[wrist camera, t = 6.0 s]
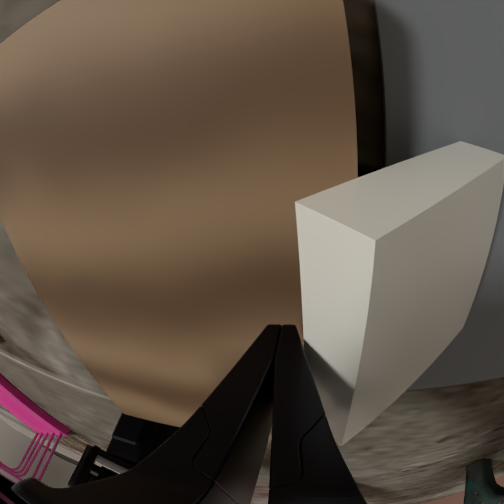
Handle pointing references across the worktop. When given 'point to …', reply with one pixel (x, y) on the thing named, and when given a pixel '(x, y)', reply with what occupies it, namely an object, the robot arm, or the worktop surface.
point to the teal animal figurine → (482, 484)
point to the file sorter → (36, 420)
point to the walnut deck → (170, 178)
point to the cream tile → (392, 274)
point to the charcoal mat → (449, 138)
